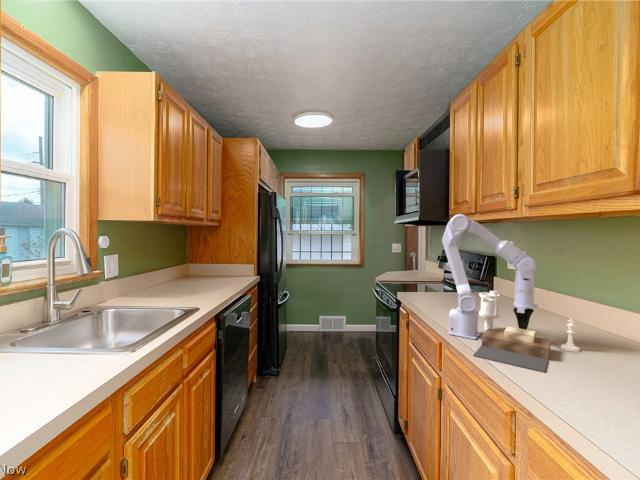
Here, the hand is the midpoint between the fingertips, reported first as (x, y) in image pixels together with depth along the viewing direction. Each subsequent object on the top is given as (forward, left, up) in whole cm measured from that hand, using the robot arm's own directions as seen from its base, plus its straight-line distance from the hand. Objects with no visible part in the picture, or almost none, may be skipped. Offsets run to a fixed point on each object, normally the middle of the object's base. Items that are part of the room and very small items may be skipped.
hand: (522, 329), depth 112 cm
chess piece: (+13, +2, -4) cm, 14 cm away
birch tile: (0, -8, -1) cm, 8 cm away
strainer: (-12, +7, -4) cm, 15 cm away
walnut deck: (-1, -9, -4) cm, 10 cm away
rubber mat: (-1, -20, -4) cm, 20 cm away
